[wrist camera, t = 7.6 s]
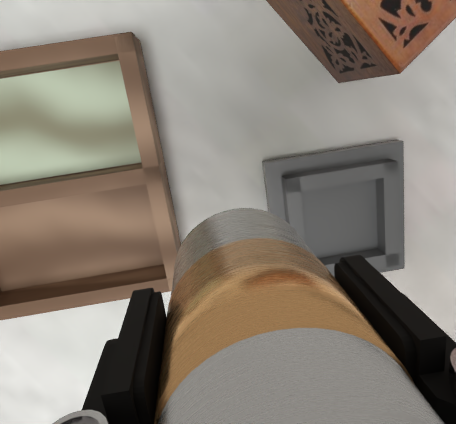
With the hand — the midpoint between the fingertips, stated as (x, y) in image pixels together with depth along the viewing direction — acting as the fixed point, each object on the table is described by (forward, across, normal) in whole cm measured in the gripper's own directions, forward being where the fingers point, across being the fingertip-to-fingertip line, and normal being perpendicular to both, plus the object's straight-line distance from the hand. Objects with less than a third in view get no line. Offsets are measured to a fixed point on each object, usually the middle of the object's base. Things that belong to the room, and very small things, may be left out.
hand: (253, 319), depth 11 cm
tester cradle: (+22, -10, +6) cm, 25 cm away
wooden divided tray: (+22, +13, -1) cm, 26 cm away
